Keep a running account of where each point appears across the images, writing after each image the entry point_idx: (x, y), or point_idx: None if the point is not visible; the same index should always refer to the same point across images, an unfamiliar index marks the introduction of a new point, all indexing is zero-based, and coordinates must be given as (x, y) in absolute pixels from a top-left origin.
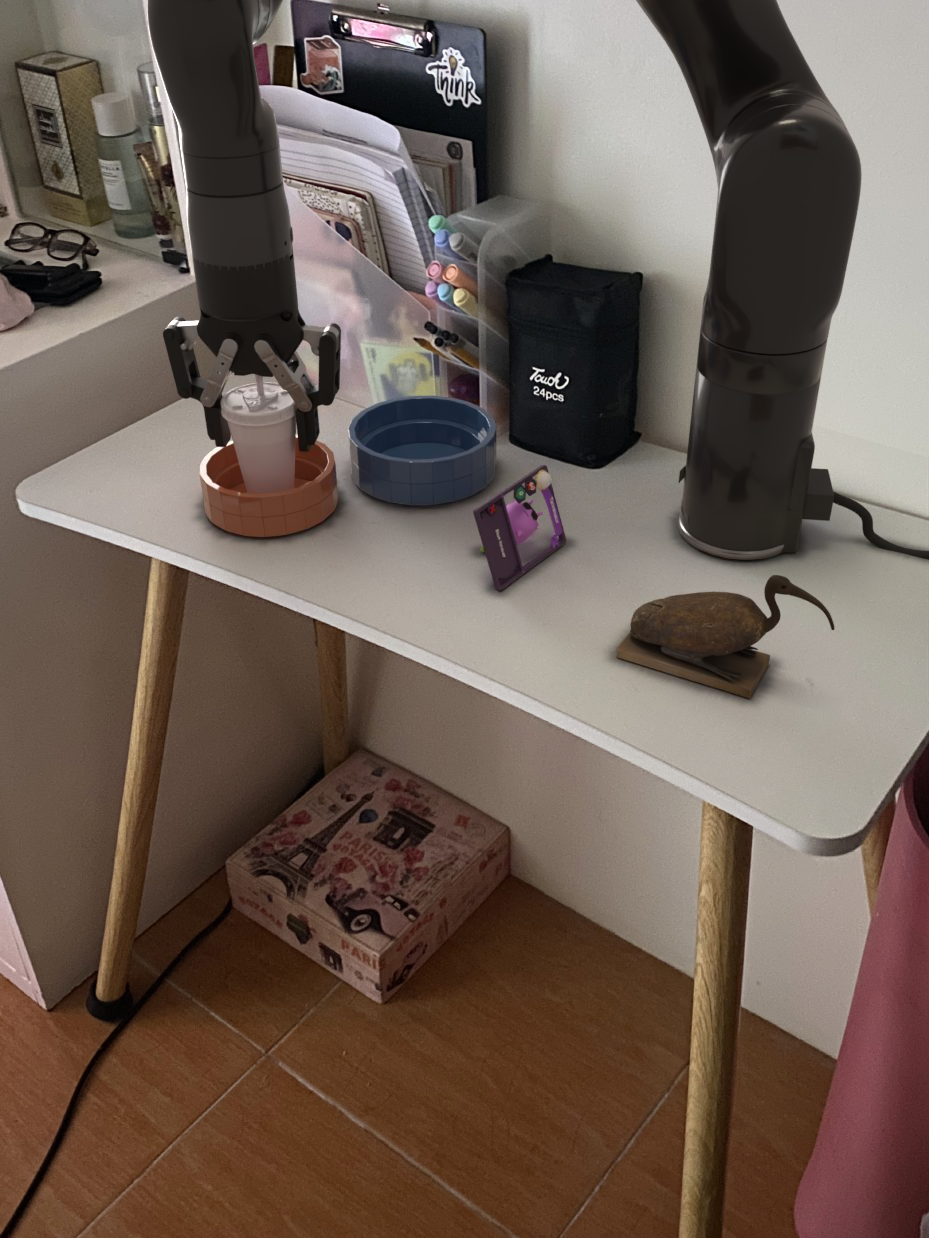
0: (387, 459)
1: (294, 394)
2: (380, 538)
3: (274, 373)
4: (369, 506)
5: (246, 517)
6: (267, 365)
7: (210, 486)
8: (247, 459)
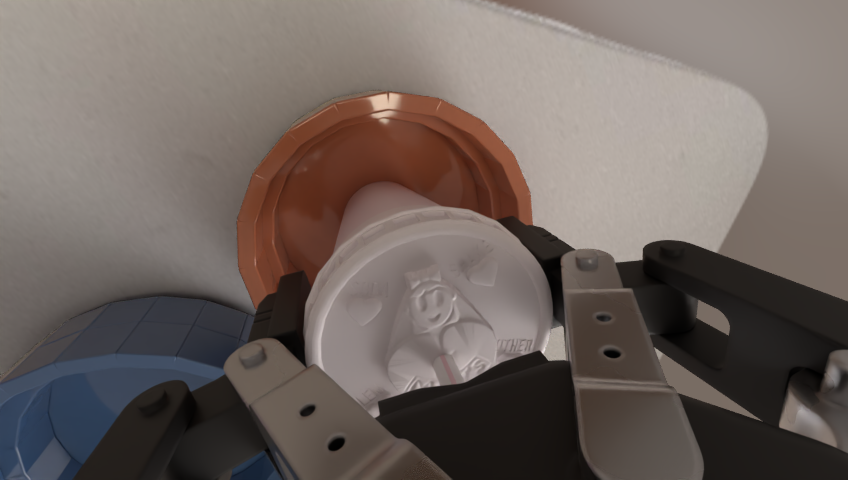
0: (121, 354)
1: (283, 373)
2: (108, 181)
3: (346, 406)
4: (207, 278)
5: (369, 92)
6: (384, 430)
7: (471, 115)
8: (417, 198)
